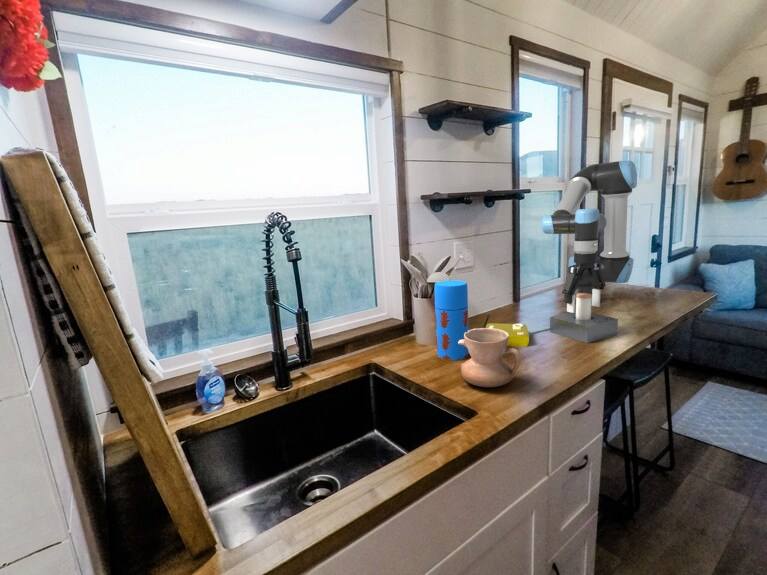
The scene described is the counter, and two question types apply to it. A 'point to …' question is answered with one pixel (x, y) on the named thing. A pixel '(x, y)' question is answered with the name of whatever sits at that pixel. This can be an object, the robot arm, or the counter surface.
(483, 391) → the counter surface
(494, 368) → the ceramic jug
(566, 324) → the block
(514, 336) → the element tile
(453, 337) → the thermos
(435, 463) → the counter surface
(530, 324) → the mat
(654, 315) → the counter surface
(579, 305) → the white cylinder
